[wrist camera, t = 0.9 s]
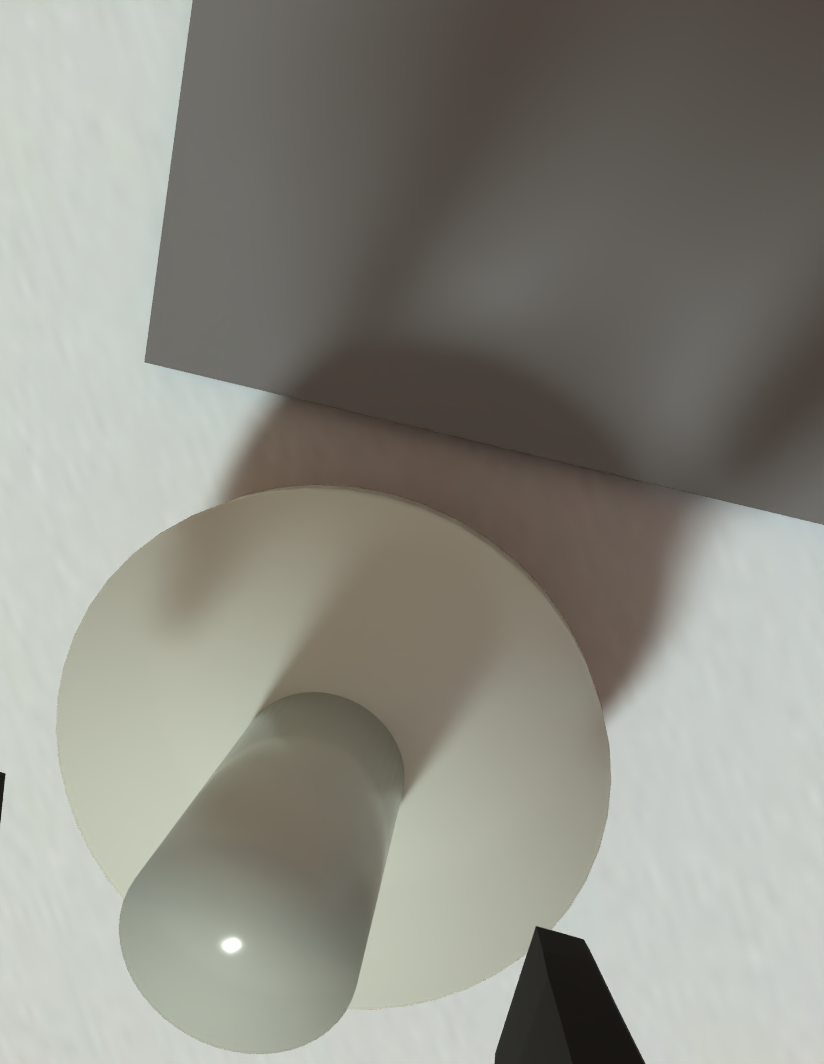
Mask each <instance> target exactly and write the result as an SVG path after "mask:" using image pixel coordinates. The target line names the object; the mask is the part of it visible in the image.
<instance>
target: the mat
mask: <svg viewBox="0 0 824 1064" xmlns="http://www.w3.org/2000/svg"><path fill="white" fill-rule="evenodd" d="M145 362H146V363H150V364H155V365H159V366H163V367H167V368H171V369H175V370H180V371H184V372H188V373H192V374H196V375H201V376H205V377H209V378H213V379H217V380H221V381H226V382H230V383H234V384H238V385H242V386H246V387H251V388H255V389H259V390H263V391H267V392H272V393H276V394H280V395H284V396H288V397H292V398H297V399H301V400H305V401H309V402H313V403H317V404H322V405H326V406H330V407H334V408H338V409H343V410H347V411H351V412H355V413H359V414H363V415H368V416H372V417H376V418H380V419H384V420H388V421H393V422H397V423H401V424H405V425H409V426H414V427H418V428H422V429H426V430H430V431H434V432H439V433H443V434H447V435H451V436H455V437H459V438H464V439H468V440H472V441H476V442H480V443H485V444H489V445H493V446H497V447H501V448H505V449H510V450H514V451H518V452H522V453H526V454H530V455H535V456H539V457H543V458H547V459H551V460H556V461H560V462H564V463H568V464H572V465H576V466H581V467H585V468H589V469H593V470H597V471H601V472H606V473H610V474H614V475H618V476H622V477H627V478H631V479H635V480H639V481H643V482H647V483H652V484H656V485H660V486H664V487H668V488H672V489H677V490H681V491H685V492H689V493H693V494H698V495H702V496H706V497H710V498H714V499H718V500H723V501H727V502H731V503H735V504H739V505H743V506H748V507H752V508H756V509H760V510H764V511H769V512H773V513H777V514H781V515H785V516H789V517H794V518H798V519H802V520H806V521H810V522H814V523H819V524H823V525H824V0H193V3H192V10H191V18H190V25H189V33H188V40H187V47H186V55H185V62H184V70H183V77H182V85H181V92H180V100H179V107H178V115H177V122H176V130H175V137H174V145H173V152H172V160H171V167H170V175H169V182H168V190H167V197H166V205H165V212H164V220H163V227H162V235H161V242H160V250H159V257H158V265H157V272H156V280H155V287H154V295H153V302H152V310H151V317H150V325H149V332H148V340H147V347H146V355H145Z"/></svg>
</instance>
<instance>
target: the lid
mask: <svg viewBox="0 0 824 1064" xmlns="http://www.w3.org/2000/svg"><path fill="white" fill-rule="evenodd" d="M56 733H57V744H58V756H59V764H60V769H61V774H62V778H63V783H64V787H65V792H66V796H67V798H68V801H69V804H70V807H71V810H72V813H73V815H74V818H75V821H76V824H77V826H78V828H79V830H80V832H81V834H82V836H83V838H84V840H85V842H86V844H87V846H88V848H89V851H90V853H91V854H92V856H93V858H94V859H95V861H96V862H97V864H98V865H99V867H100V868H101V870H102V871H103V873H104V875H105V876H106V878H107V879H108V881H109V882H110V883H111V885H112V886H113V887H114V888H115V890H116V891H117V892H118V893H119V894H120V896H121V897H122V898H123V899H124V901H123V905H122V909H121V913H120V923H119V935H120V944H121V949H122V954H123V958H124V960H125V963H126V966H127V969H128V971H129V973H130V975H131V977H132V979H133V981H134V983H135V984H136V986H137V988H138V989H139V991H140V992H141V994H142V995H143V996H144V997H145V999H146V1000H147V1001H148V1002H149V1004H150V1005H151V1006H152V1007H153V1008H154V1009H155V1010H156V1011H157V1012H158V1013H159V1014H160V1015H161V1016H162V1017H163V1018H165V1019H166V1020H167V1021H168V1022H170V1023H171V1024H172V1025H174V1026H175V1027H176V1028H178V1029H180V1030H181V1031H183V1032H184V1033H186V1034H187V1035H189V1036H191V1037H193V1038H195V1039H197V1040H199V1041H201V1042H204V1043H206V1044H209V1045H212V1046H214V1047H217V1048H221V1049H225V1050H229V1051H233V1052H240V1053H247V1054H269V1053H278V1052H283V1051H288V1050H292V1049H295V1048H298V1047H301V1046H304V1045H306V1044H308V1043H310V1042H312V1041H314V1040H316V1039H318V1038H319V1037H320V1036H322V1035H323V1034H325V1033H326V1032H327V1031H329V1030H330V1029H331V1028H332V1027H333V1026H334V1025H335V1024H336V1023H337V1022H338V1021H339V1020H340V1018H341V1017H342V1016H343V1014H344V1013H345V1012H346V1010H347V1009H366V1010H372V1009H382V1008H393V1007H404V1006H408V1005H413V1004H418V1003H422V1002H427V1001H432V1000H436V999H439V998H442V997H445V996H448V995H451V994H454V993H456V992H459V991H462V990H465V989H468V988H470V987H472V986H474V985H476V984H478V983H480V982H482V981H484V980H486V979H488V978H490V977H492V976H494V975H496V974H497V973H499V972H500V971H502V970H503V969H505V968H506V967H508V966H509V965H511V964H512V963H514V962H515V961H517V960H518V959H520V958H521V957H522V956H524V955H525V954H526V953H527V952H528V949H529V946H530V943H531V940H532V937H533V934H534V930H535V927H536V926H538V927H542V928H545V929H549V930H551V929H552V928H553V927H554V926H555V925H556V923H557V922H558V921H559V920H560V919H561V917H562V916H563V915H564V914H565V913H566V911H567V910H568V909H569V908H570V906H571V904H572V903H573V901H574V899H575V898H576V896H577V894H578V893H579V891H580V890H581V888H582V886H583V885H584V883H585V881H586V879H587V877H588V875H589V872H590V870H591V868H592V865H593V863H594V860H595V858H596V856H597V853H598V851H599V848H600V844H601V840H602V836H603V832H604V828H605V824H606V820H607V816H608V807H609V797H610V787H611V770H610V750H609V741H608V736H607V731H606V726H605V721H604V716H603V711H602V707H601V704H600V701H599V698H598V695H597V692H596V689H595V686H594V683H593V680H592V678H591V675H590V672H589V669H588V666H587V663H586V661H585V658H584V655H583V653H582V651H581V649H580V647H579V645H578V643H577V641H576V640H575V638H574V636H573V634H572V632H571V630H570V628H569V626H568V624H567V622H566V621H565V620H564V618H563V617H562V615H561V614H560V612H559V611H558V610H557V608H556V607H555V605H554V604H553V602H552V601H551V600H550V598H549V597H548V595H547V594H546V593H545V591H544V590H543V589H542V588H541V587H540V586H539V585H538V584H537V583H536V582H535V581H534V580H533V579H532V577H531V576H530V575H529V574H528V573H527V572H526V571H525V570H524V569H523V568H522V567H521V566H520V565H519V564H518V563H517V562H516V561H515V560H513V559H512V558H511V557H510V556H509V555H507V554H506V553H505V552H504V551H503V550H501V549H500V548H499V547H498V546H497V545H495V544H494V543H493V542H492V541H490V540H489V539H487V538H486V537H484V536H482V535H481V534H479V533H478V532H476V531H475V530H473V529H471V528H470V527H468V526H467V525H465V524H464V523H462V522H460V521H459V520H457V519H455V518H452V517H450V516H448V515H446V514H444V513H442V512H439V511H437V510H435V509H433V508H431V507H429V506H427V505H424V504H421V503H418V502H415V501H412V500H409V499H406V498H403V497H399V496H396V495H393V494H390V493H386V492H380V491H375V490H369V489H364V488H358V487H352V486H335V485H303V486H292V487H280V488H275V489H270V490H266V491H261V492H257V493H253V494H248V495H244V496H241V497H238V498H236V499H233V500H231V501H228V502H225V503H223V504H220V505H217V506H215V507H212V508H210V509H207V510H205V511H202V512H200V513H197V514H195V515H193V516H190V517H189V518H187V519H185V520H183V521H181V522H180V523H178V524H176V525H174V526H172V527H171V528H169V529H167V530H165V531H163V532H162V533H160V534H159V535H157V536H156V537H155V538H153V539H152V540H151V541H150V542H148V543H147V544H146V545H144V546H143V547H142V548H140V549H139V550H138V551H136V552H135V553H134V554H133V555H132V556H131V557H130V558H129V559H128V560H127V561H126V562H125V563H124V564H123V565H122V566H121V567H120V568H119V569H118V570H117V571H116V572H115V573H114V574H113V575H112V576H111V577H110V578H109V579H108V581H107V582H106V584H105V585H104V586H103V588H102V589H101V591H100V592H99V593H98V595H97V596H96V597H95V599H94V600H93V602H92V603H91V604H90V606H89V608H88V610H87V612H86V614H85V616H84V617H83V619H82V621H81V623H80V625H79V627H78V629H77V631H76V633H75V635H74V638H73V641H72V644H71V647H70V649H69V652H68V655H67V658H66V661H65V664H64V668H63V673H62V678H61V684H60V689H59V694H58V705H57V725H56Z"/></svg>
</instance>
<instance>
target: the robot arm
mask: <svg viewBox="0 0 824 1064" xmlns="http://www.w3.org/2000/svg"><path fill="white" fill-rule="evenodd" d="M4 782H5V773H1V772H0V821H1V811H2V801H3V792H4ZM495 1064H645V1062H644V1060H643V1058H642V1056H641V1054H640V1052H639V1050H638V1048H637V1046H636V1044H635V1042H634V1040H633V1038H632V1036H631V1034H630V1032H629V1030H628V1028H627V1026H626V1024H625V1022H624V1020H623V1018H622V1016H621V1014H620V1012H619V1010H618V1008H617V1006H616V1004H615V1002H614V999H613V997H612V995H611V993H610V991H609V989H608V987H607V985H606V983H605V981H604V979H603V977H602V975H601V972H600V970H599V968H598V966H597V964H596V962H595V960H594V958H593V956H592V954H591V952H590V950H589V948H588V946H587V944H586V943H585V941H584V939H580V938H577V937H573V936H570V935H566V934H563V933H559V932H556V931H552V930H549V929H545V928H542V927H538V926H536V927H535V930H534V934H533V937H532V940H531V943H530V946H529V949H528V952H527V955H526V959H525V962H524V965H523V968H522V971H521V974H520V977H519V981H518V984H517V987H516V990H515V993H514V996H513V999H512V1003H511V1006H510V1009H509V1012H508V1015H507V1018H506V1021H505V1024H504V1028H503V1031H502V1034H501V1037H500V1040H499V1043H498V1046H497V1050H496V1053H495Z"/></svg>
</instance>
